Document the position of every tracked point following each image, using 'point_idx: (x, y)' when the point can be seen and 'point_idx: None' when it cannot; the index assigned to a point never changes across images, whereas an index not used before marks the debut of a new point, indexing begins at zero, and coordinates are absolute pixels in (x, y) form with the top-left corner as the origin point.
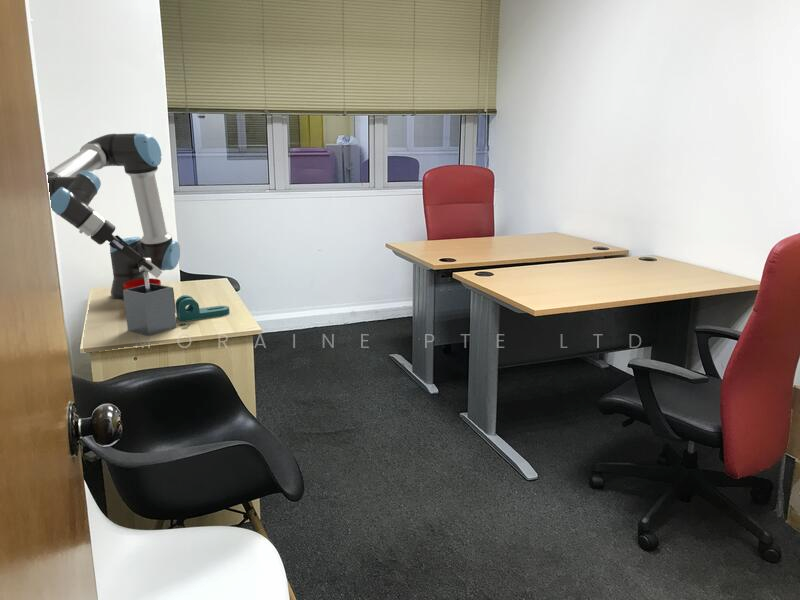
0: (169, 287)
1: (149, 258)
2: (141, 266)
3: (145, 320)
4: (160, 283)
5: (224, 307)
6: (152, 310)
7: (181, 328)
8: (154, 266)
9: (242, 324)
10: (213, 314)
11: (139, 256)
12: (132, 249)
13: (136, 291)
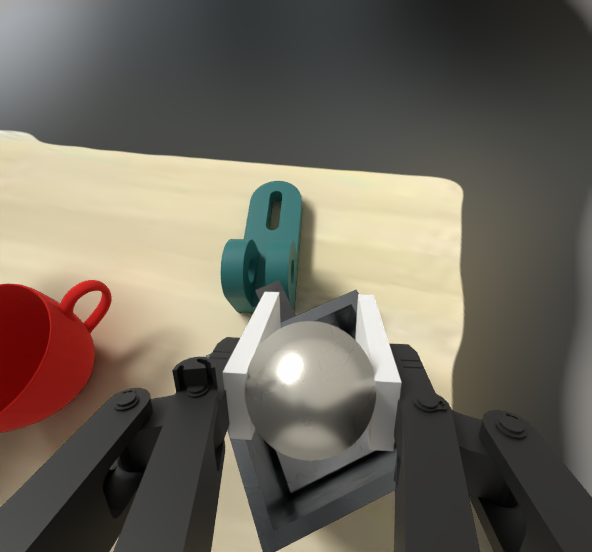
0: (353, 301)
1: (316, 334)
2: (390, 443)
3: None
4: (36, 290)
5: (277, 190)
6: None
7: None
8: (383, 330)
9: (410, 192)
10: (300, 226)
11: (590, 507)
12: (183, 537)
13: (255, 455)
